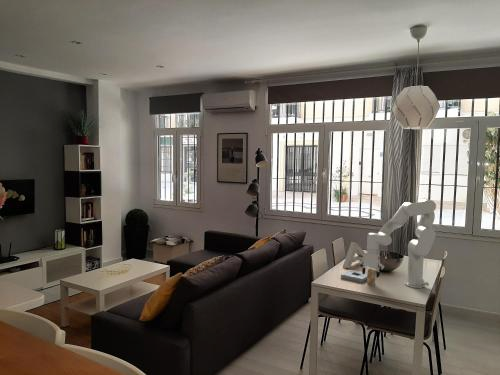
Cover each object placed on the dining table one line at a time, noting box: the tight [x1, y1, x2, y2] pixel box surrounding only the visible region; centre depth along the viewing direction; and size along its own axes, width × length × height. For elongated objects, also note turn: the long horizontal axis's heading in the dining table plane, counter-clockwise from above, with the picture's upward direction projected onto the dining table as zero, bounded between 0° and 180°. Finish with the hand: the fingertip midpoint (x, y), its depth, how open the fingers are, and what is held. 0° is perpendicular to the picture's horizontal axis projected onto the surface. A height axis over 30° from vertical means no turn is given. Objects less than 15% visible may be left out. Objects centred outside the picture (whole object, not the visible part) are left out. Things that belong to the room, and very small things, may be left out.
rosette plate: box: [340, 269, 368, 284], centre depth 281 cm, size 16×16×3 cm
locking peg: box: [366, 268, 377, 286], centre depth 269 cm, size 4×4×10 cm
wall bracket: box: [342, 241, 366, 270], centre depth 319 cm, size 22×4×30 cm
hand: (370, 275), depth 269 cm, fingers open, 9 cm apart
